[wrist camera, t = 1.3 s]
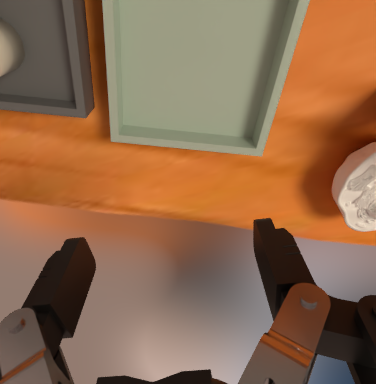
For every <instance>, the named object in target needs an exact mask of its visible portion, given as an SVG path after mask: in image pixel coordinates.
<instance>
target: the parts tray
mask: <svg viewBox="0 0 376 384" xmlns="http://www.w3.org/2000/svg"><path fill="white" fill-rule="evenodd" d="M0 18H1V19H3V20H4V21H6V22H7V23H9V24H10V25H11V26H12V27H13V28H14V29H15V31H16V32H17V33H18V35H19V36H20V38H21V40H22V43H23V46H24V51H25V56H24V61H23V63H22V64H21V66H20V67H19V68H17V69H15V70H13V71H11V72H9V73H7V74H5V75H3V76H1V77H0V109H2V110H12V111H22V112H31V113H41V114H51V115H60V116H70V117H80V118H87V116H88V115H89V114H90V113H91V111H92V110H93V109H94V97H93V86H92V75H91V65H90V54H89V44H88V33H87V22H86V12H85V1H84V0H0Z"/></svg>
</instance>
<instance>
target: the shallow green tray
mask: <svg viewBox="0 0 376 384" xmlns="http://www.w3.org/2000/svg"><path fill="white" fill-rule="evenodd" d="M309 1H310V0H102V6H103V22H104V38H105V53H106V69H107V85H108V101H109V117H110V133H111V142H121V143H131V144H141V145H152V146H162V147H172V148H182V149H192V150H202V151H212V152H222V153H233V154H243V155H253V156H262V154H263V151H264V148H265V144H266V141H267V138H268V135H269V131H270V128H271V125H272V122H273V118H274V115H275V112H276V109H277V105H278V102H279V99H280V95H281V92H282V89H283V86H284V82H285V79H286V76H287V73H288V69H289V66H290V63H291V60H292V56H293V53H294V50H295V47H296V43H297V40H298V37H299V34H300V30H301V27H302V24H303V21H304V17H305V14H306V11H307V8H308V4H309Z"/></svg>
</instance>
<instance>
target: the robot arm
mask: <svg viewBox="0 0 376 384" xmlns="http://www.w3.org/2000/svg"><path fill="white" fill-rule="evenodd" d="M253 233H254V234H253V235H254V238H253V240H254V241H253V242H254V253H255V257H256V261H257V264H258V268H259V271H260V275H261V279H262V282H263V285H264V289H265V292H266V296H267V300H268V303H269V306H270V310H271V314H272V317H273V321H274V322H273V324H272V326H271V328H270V330H269V332H268V333H264V334H263V336H262V337H261V339H260V341H259V343H258V345H257V347H256V349H255V351H254V353H253V355H252V357H251V359H250V361H249V362H248V364H247V366H246V368H245V370H244V372H243V374H242V376H241V378H240V380H239V382H238V384H308V381H309V378H310V375H311V372H312V369H313V367H314V364H315V361H316V358H317V355H318V354H320V355H323V356H327V357H331V358H335V359H339V360H343V361H346V362H347V365H348V367H349V370H350V372H351V375H352V377H353V380H354V382H355V384H376V295H369V296H365V297H363V298H361V299H360V300H359V302H358V303H357V302H352V301H347V300H341V299H337V298H334V297H331V296H329V295H327V294H326V293H325V291H323V290H322V289H321V288H319V287H318V286H317V285H316V284H315V282H314V280H313V278H312V276H311V274H310V272H309V269H308V267H307V265H306V263H305V261H304V259H303V257H302V255H301V254H300V250H299V248H298V247H297V244H296V242H295V240H294V238H293V236H292V235H291V234H290V233H289V232H288V231H287V230H286V229H284V228H280V229H275V227H274V224H273V222H272V220H271V218H266V219H256V220H254V232H253ZM95 270H96V263H95V259H94V256H93V254H92V252H91V250H90V248H89V245H88V243H87V242H86V239H85V238H83V237H82V238H71V239H67V240H66V241H65V242H64V244H63V246H62V248H61V250H60V251H56V252H55V253H54V254H53V255H52V256H51V257H50V258H49V259H48V260H47V262H46V264H45V266H44V268H43V271H41V273H40V275H39V278H38V279H37V280H36V282H35V284H34V286H33V288H32V289H31V291H30V293H29V295H28V297H27V299H26V300H25V302H24V304H23V306H22V308H21V309H18V310H16V311H14V312H12V313H10V314H9V315H8V316H7V317H5V318H4V319H3V320H2V321H1V323H0V384H74V382H73V379H72V377H71V374H70V371H69V368H68V366H67V363H66V360H65V357H64V355H63V352H62V349H61V347H60V346H59V345H60V343H61V340H62V338H72V337H73V335H74V332H75V329H76V326H77V323H78V320H79V317H80V315H81V311H82V309H83V306H84V303H85V300H86V297H87V294H88V291H89V288H90V285H91V282H92V280H93V277H94V273H95ZM96 384H227V383H225V382H223V381H220V380H218V379H214V378H212V376H211V370H196V371H183V372H180V373H177V374H174V375H171V376H169V377H166V378H163V379H160V380H158V381H155V382H149V381H145V380H141V379H137V378H133V377H129V376H113V377H99V378H98V379H97V383H96Z"/></svg>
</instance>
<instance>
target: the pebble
mask: <svg viewBox="0 0 376 384" xmlns="http://www.w3.org/2000/svg"><path fill="white" fill-rule="evenodd" d="M24 56H25V51H24V46H23V43H22V40H21V38H20V36H19V35H18V33H17V32H16V31H15V29H14V28H13V27H12V26H11V25H10V24H9V23H7V22H6V21H4V20H3V19H1V18H0V77H1V76H3V75H5V74H7V73H9V72H11V71H13V70H15V69H17V68H19V67H20V66H21V64H22V63H23V61H24Z"/></svg>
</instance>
